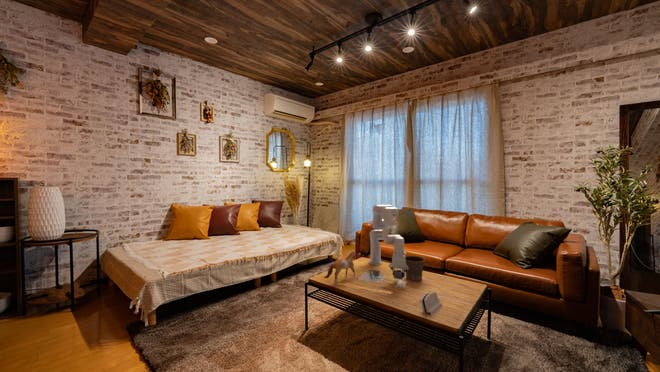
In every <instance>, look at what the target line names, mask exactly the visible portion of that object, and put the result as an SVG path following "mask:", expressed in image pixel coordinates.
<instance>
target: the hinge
mask: <svg viewBox="0 0 660 372" xmlns="http://www.w3.org/2000/svg"><path fill="white" fill-rule="evenodd" d="M439 299H440V298H439V297H438V294H437V293H436V292H427V293H425V294H424V295H423V296H422V297H421V298H420V304H421V307H422V312H423V313H429V314H430V316H432V315H434V314H435V313H436V312H437V311H438V310H440V309H441V308H443V304H442V302H441V301H440V300H439Z"/></svg>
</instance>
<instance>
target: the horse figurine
mask: <svg viewBox="0 0 660 372" xmlns="http://www.w3.org/2000/svg"><path fill="white" fill-rule="evenodd" d="M356 254H357V251H351V252H350V253H349V255H348V256H347V257H346V258H345V259H343V260H342V259H337V260H336V261H335V262H334V263H333V264H331V265H330V266H329V268H328V269H327V274H326V275H325V276H323V278H324V279H329V278H330V276H331V275H332V274H333V271H334V270H335V272H334V281H333V282H334V284H333V285H334V286H336V285H337V283H338V281H339V278H338V276H339V274H340V272H341V271H342V269H343V270H345V276H344V277H345V278H348V277H347V275H348V269H350V270H351V271H352V272H353V278H356V271H355V268H354V265H355V264H354V261H355V260H356V256H357V255H356Z"/></svg>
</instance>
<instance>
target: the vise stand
mask: <svg viewBox="0 0 660 372" xmlns="http://www.w3.org/2000/svg"><path fill="white" fill-rule="evenodd" d="M380 273H381V271H380V270H376V269H369V271H368V272H367V271H364V272H363V273H362V274H361V275H360V276H359V277H358V279H357V280H361V281H366V282H372V283H376V284H377V283H378V284H382V281H383V280H384V279H385V277H386V274H380Z"/></svg>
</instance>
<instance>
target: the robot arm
mask: <svg viewBox="0 0 660 372" xmlns="http://www.w3.org/2000/svg"><path fill="white" fill-rule="evenodd" d="M372 215H373V217H372V226H371V227H372V229H371V230H370V231H369V239H370V260H369V261H368V264H369V265H373V266H381V265H382V264H383V261H382V259H381V257H382V256H381V255H382V254H381V252H382V250H381V249H382V246H381V242H380V240H381V241H383V242H384V244H385V245H388V246H391V245H393V253H392V259H391V263H390V264H389V265H388V268H389V269H390V270H391V271H392V276H394V271H395V269H397V270H402V271H403V273H402V278H403V279H404V277H405V278H406V271H407V270H408V269H409V267H408V266H407V265H406V258H405V257H406V255H407V252H405V239H404V237H402V236H401V235H400V234H389V233H390V229H391V228H393V227H394V226H395V224H396V221H395V218H397V217H398V216H399V209H398V208H397V207H396V206H394V205H392V204H374V205H373V206H372ZM405 267H406V268H407V269H405Z"/></svg>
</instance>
